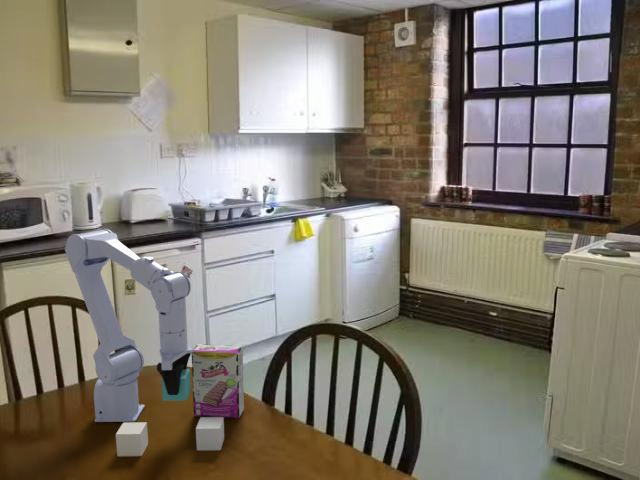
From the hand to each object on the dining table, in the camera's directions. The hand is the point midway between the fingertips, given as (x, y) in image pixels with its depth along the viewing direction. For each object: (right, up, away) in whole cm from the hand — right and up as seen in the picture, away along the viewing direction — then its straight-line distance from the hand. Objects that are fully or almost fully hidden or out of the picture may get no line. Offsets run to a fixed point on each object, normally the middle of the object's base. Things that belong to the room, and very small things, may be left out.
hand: (176, 388), depth 131 cm
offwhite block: (-8, -12, -5) cm, 15 cm away
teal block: (0, -2, 0) cm, 2 cm away
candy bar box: (+8, -9, +11) cm, 16 cm away
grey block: (+8, -11, -3) cm, 14 cm away
